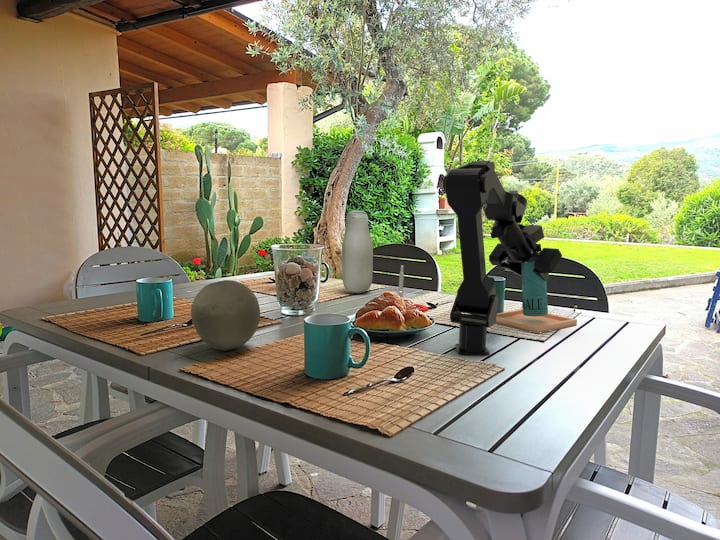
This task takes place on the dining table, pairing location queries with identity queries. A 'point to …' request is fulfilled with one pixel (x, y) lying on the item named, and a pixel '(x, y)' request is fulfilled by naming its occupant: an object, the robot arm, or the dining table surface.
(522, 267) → the beverage bottle
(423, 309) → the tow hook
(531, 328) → the tray
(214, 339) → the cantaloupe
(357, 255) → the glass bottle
